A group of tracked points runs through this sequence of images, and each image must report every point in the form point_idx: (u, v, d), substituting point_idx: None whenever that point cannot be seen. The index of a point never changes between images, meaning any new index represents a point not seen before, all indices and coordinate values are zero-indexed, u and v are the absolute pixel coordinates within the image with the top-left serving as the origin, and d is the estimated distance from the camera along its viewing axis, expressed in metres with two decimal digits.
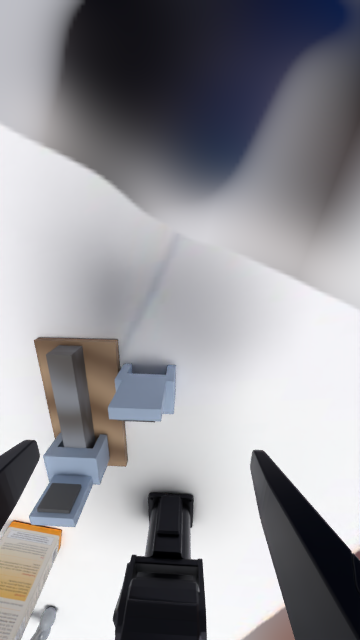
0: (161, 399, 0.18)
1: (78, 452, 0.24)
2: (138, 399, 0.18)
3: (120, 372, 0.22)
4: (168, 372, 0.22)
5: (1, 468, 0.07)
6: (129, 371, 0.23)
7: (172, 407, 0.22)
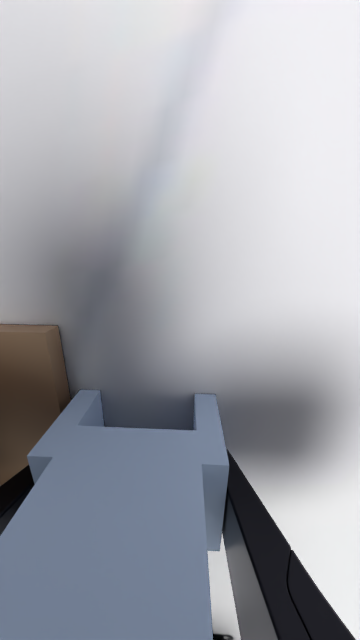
0: (206, 628, 0.03)
1: None
2: (81, 630, 0.03)
3: (60, 421, 0.07)
4: (200, 419, 0.08)
5: None
6: (90, 414, 0.08)
7: (217, 535, 0.07)
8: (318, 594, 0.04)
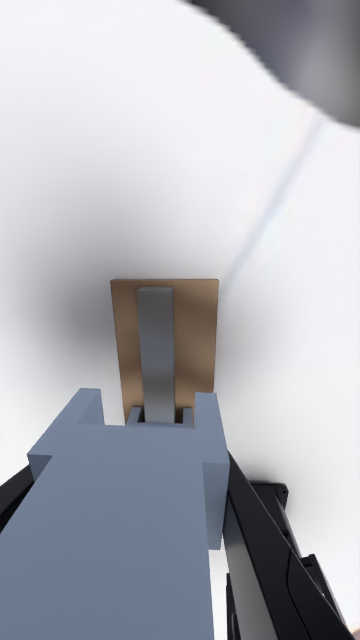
0: (207, 626, 0.03)
1: None
2: (82, 628, 0.03)
3: (60, 420, 0.07)
4: (200, 418, 0.08)
5: None
6: (90, 412, 0.08)
7: (218, 534, 0.07)
8: (318, 594, 0.04)
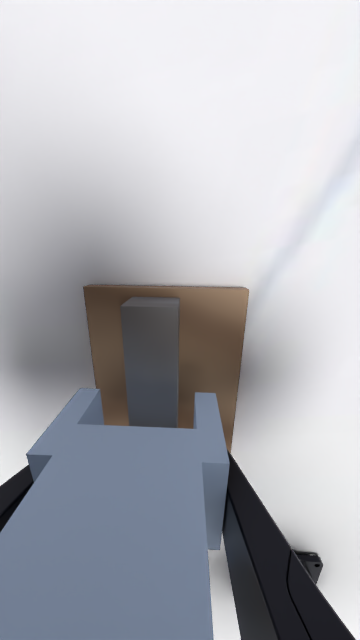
0: (206, 626, 0.03)
1: None
2: (80, 628, 0.03)
3: (59, 420, 0.07)
4: (200, 418, 0.08)
5: None
6: (90, 412, 0.08)
7: (217, 534, 0.07)
8: (318, 594, 0.04)
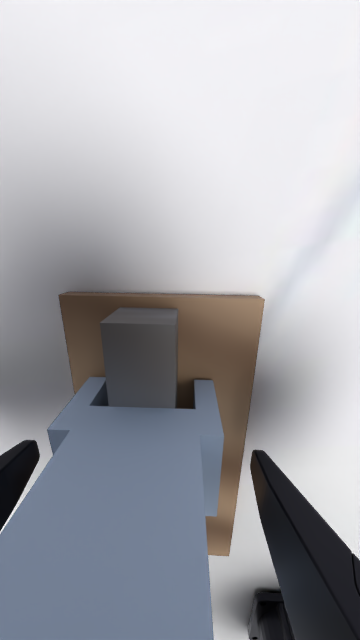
0: (202, 547, 0.04)
1: None
2: (104, 548, 0.04)
3: (74, 403, 0.08)
4: (199, 400, 0.09)
5: (1, 468, 0.07)
6: (100, 397, 0.09)
7: (214, 501, 0.08)
8: None
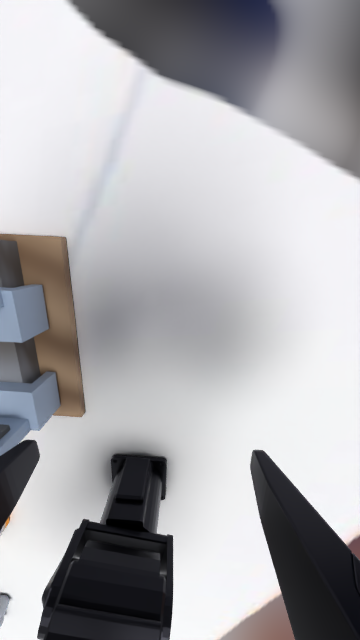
0: None
1: (10, 386, 0.18)
2: None
3: None
4: (20, 286, 0.16)
5: (1, 468, 0.07)
6: None
7: (18, 332, 0.16)
8: None
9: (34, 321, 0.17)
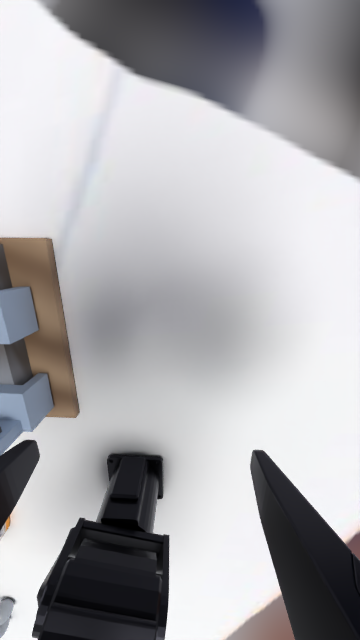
0: None
1: (2, 388, 0.18)
2: None
3: None
4: (6, 289, 0.17)
5: (1, 468, 0.07)
6: None
7: (6, 334, 0.16)
8: None
9: (22, 323, 0.17)
